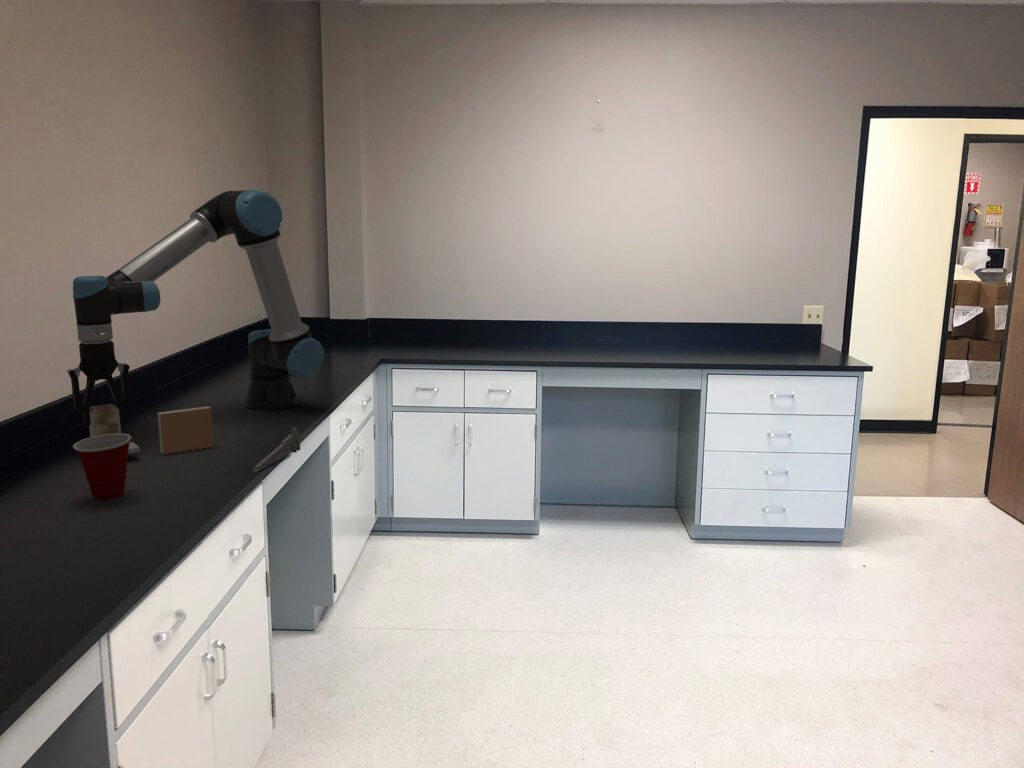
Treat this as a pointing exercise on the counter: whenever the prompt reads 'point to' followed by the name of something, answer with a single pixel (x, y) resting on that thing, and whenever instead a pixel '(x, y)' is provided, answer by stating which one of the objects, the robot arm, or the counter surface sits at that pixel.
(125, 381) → the robot arm
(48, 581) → the counter surface
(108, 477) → the plastic cup
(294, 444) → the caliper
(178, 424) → the tile
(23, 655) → the counter surface
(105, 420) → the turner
